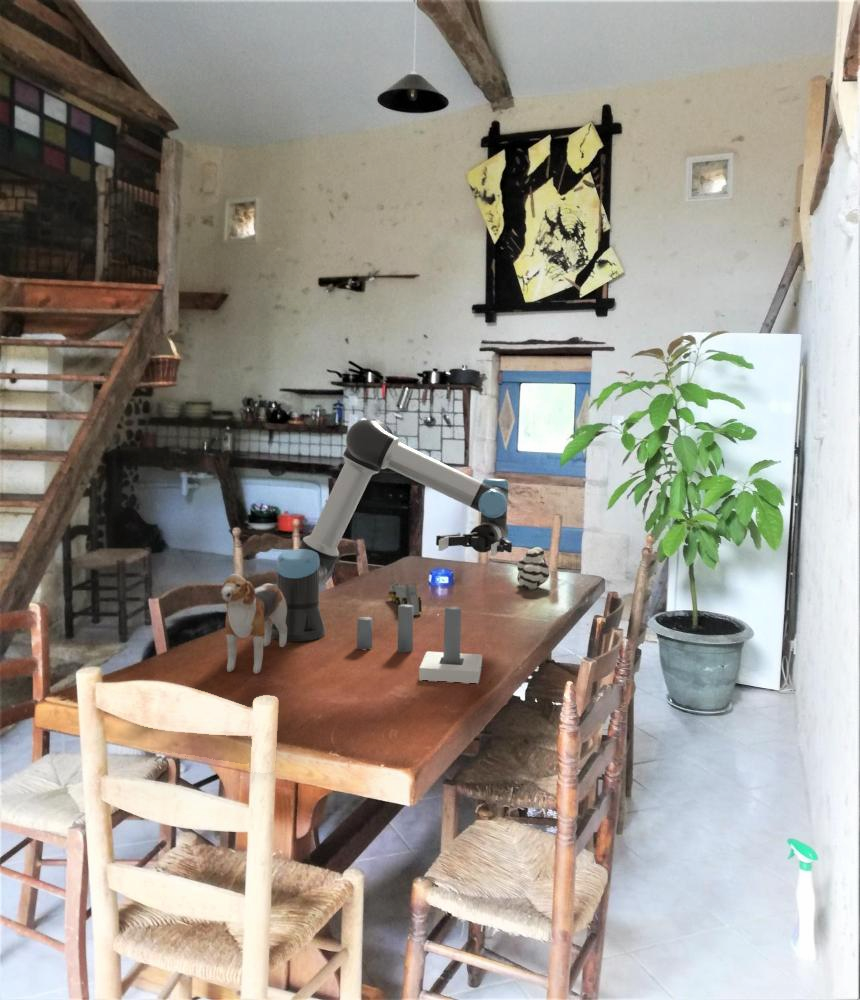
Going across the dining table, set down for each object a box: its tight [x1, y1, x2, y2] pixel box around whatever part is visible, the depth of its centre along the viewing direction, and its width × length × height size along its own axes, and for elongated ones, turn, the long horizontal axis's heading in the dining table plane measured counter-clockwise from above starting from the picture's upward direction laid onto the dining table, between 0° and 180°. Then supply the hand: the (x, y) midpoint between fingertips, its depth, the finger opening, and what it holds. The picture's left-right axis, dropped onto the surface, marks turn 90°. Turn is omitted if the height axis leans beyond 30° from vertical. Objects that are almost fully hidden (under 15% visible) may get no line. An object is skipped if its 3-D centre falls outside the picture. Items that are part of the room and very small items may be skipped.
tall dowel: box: [443, 606, 462, 665], centre depth 195 cm, size 4×4×16 cm
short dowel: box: [356, 616, 373, 650], centre depth 215 cm, size 4×4×8 cm
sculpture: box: [516, 546, 551, 590], centre depth 299 cm, size 22×12×15 cm, turn 166°
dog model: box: [220, 573, 288, 675], centre depth 200 cm, size 10×41×25 cm, turn 172°
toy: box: [388, 582, 423, 616], centre depth 264 cm, size 6×24×10 cm, turn 17°
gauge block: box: [418, 650, 483, 685], centre depth 196 cm, size 14×14×3 cm
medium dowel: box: [397, 604, 414, 653], centre depth 214 cm, size 4×4×12 cm
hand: (466, 547), depth 203 cm, fingers open, 13 cm apart
